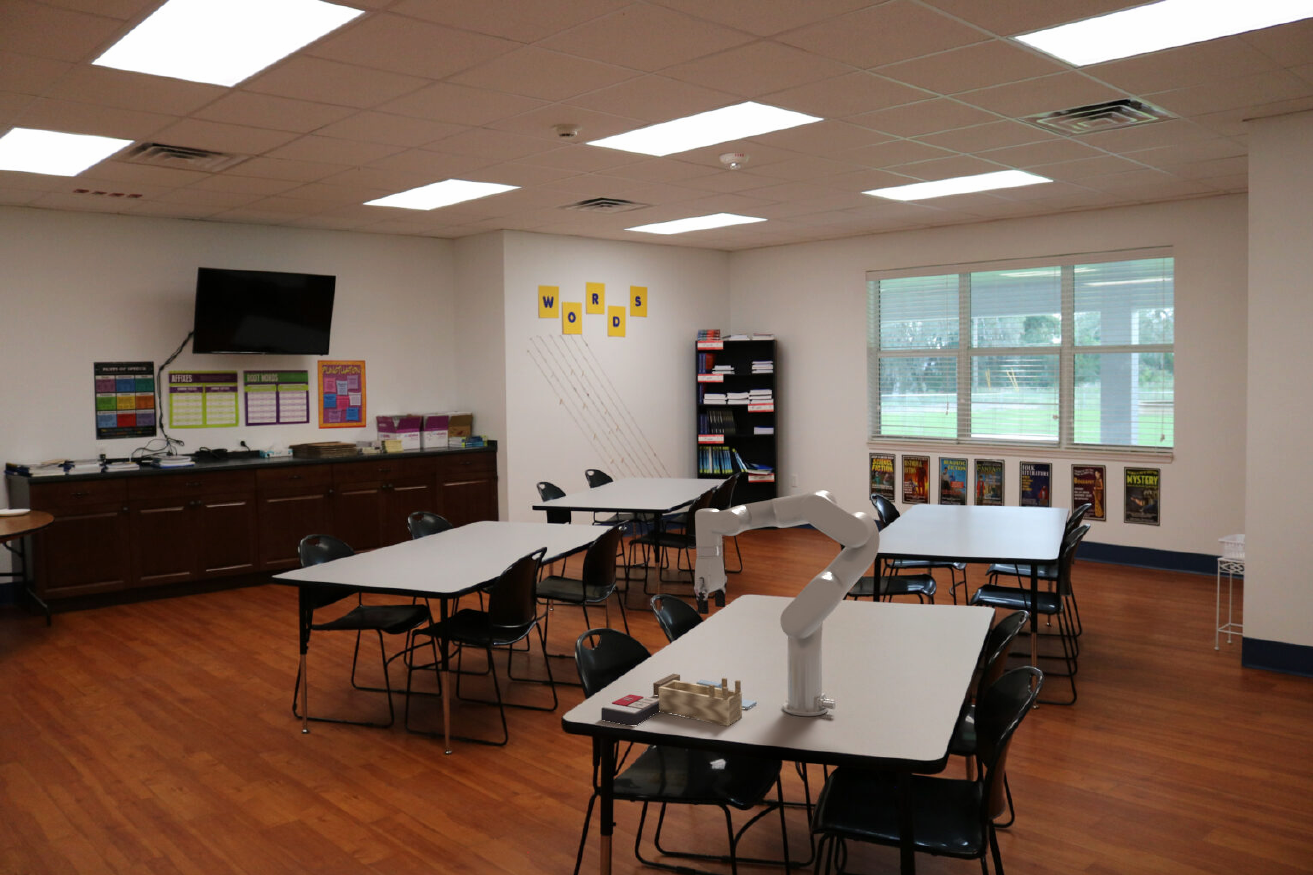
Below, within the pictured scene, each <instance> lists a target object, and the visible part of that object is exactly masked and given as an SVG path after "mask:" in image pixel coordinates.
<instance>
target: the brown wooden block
mask: <svg viewBox="0 0 1313 875" xmlns="http://www.w3.org/2000/svg"><path fill="white" fill-rule="evenodd" d="M673 680H677V681H681V674H679V673H672V674H670V675H667V676H665V677H664V678H661V679H659V680H657V681H655V682H653V684H652V686H653V688H652V689H653V696H654V695H658V696H659V687H661V686H663V685H665V684H667V683H669V682H671V681H673Z"/></svg>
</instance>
